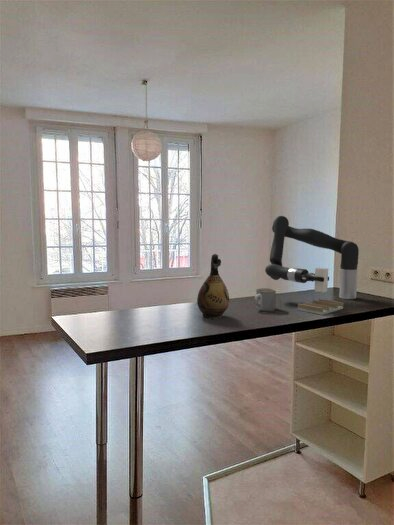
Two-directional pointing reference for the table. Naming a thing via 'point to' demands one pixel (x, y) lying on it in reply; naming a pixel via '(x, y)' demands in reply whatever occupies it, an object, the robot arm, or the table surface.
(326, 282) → the clay bar
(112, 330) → the table surface
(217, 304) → the ceramic jug
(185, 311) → the table surface
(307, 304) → the drying rack
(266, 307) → the coffee mug
